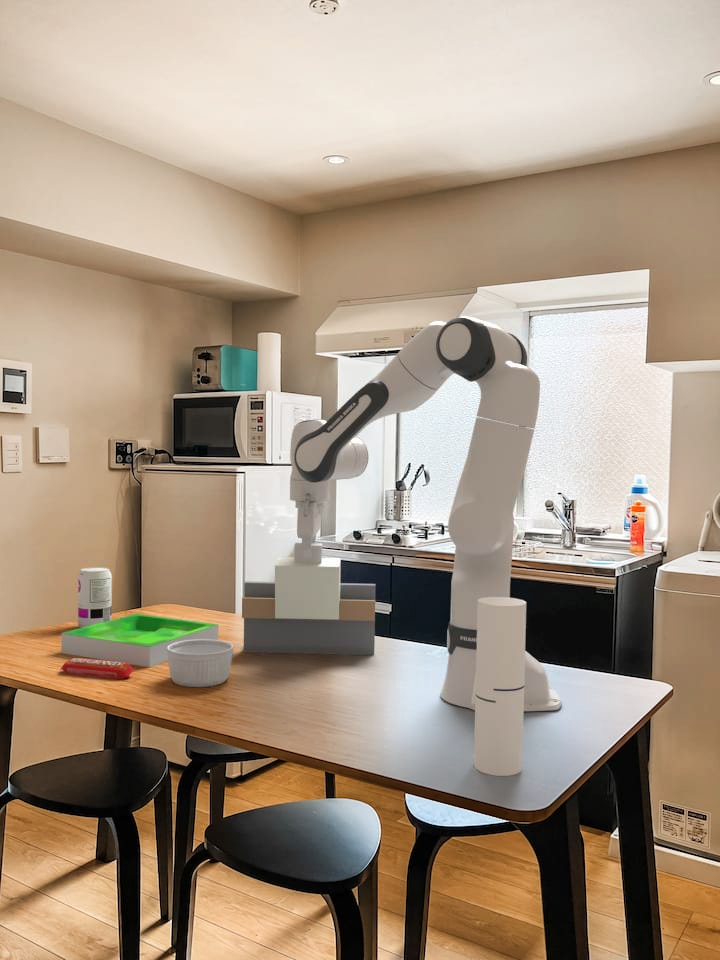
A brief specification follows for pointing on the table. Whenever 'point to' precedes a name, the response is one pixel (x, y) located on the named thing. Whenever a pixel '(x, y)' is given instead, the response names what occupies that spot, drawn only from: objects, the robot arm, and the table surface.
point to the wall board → (309, 623)
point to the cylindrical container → (500, 685)
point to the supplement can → (94, 596)
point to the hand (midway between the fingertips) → (308, 554)
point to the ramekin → (200, 662)
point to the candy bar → (97, 668)
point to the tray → (134, 638)
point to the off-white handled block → (307, 585)
